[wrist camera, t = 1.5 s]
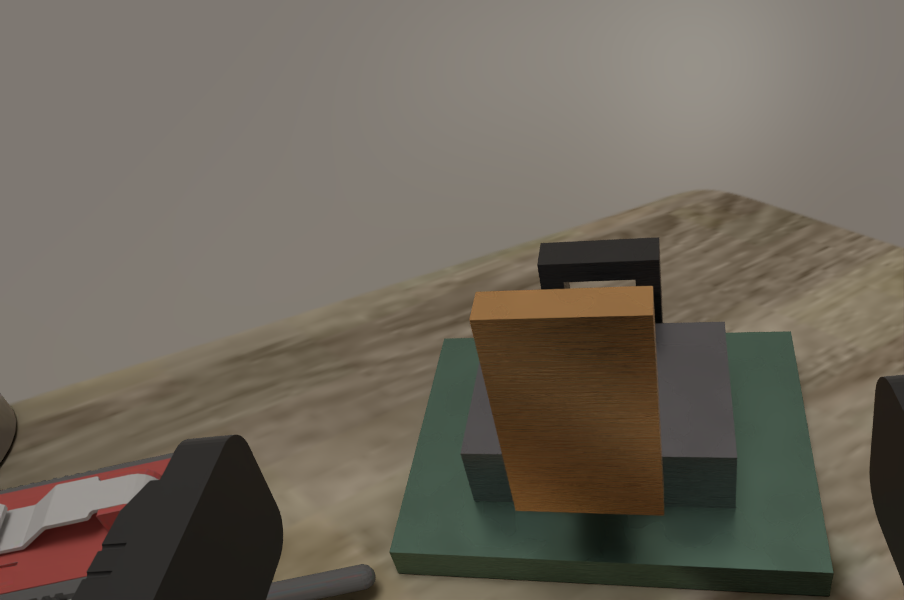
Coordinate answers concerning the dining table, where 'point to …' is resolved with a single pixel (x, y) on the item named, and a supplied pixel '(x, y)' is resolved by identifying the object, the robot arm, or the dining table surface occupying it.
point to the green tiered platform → (683, 454)
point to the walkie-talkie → (102, 535)
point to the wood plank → (574, 396)
